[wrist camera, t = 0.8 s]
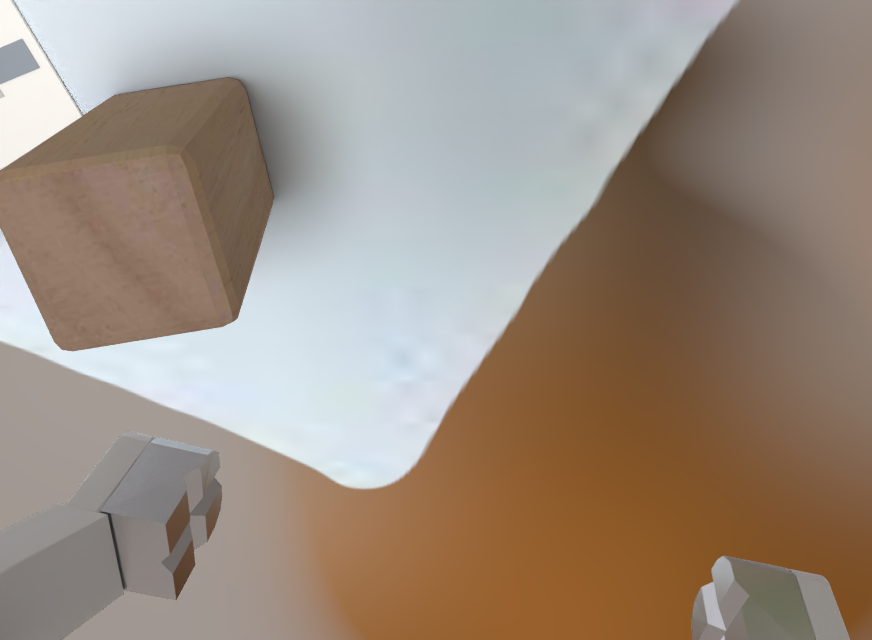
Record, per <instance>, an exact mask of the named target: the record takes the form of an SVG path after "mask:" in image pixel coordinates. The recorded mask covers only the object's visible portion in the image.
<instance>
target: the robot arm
mask: <svg viewBox="0 0 872 640" xmlns="http://www.w3.org/2000/svg"><path fill="white" fill-rule="evenodd" d="M219 468H220V461H219V453H218V452H216V451H214V450H210V449H206V448H202V447H197V446H193V445H189V444H185V443H181V442H176V441H172V440H168V439H163V438H159V437H154V436H149V435H145V434H140V433H136V432H131V431H127V432H125V433H123V434H122V435H120V436H119V437H118V438H117V439H116V440H115V442H114V443H113V444H112V445H111V447H110V448H109V449H108V451H107V452H106V453H105V454H104V456H103V457H102V458H101V459H100V461H99V462H98V463H97V465H96V466H95V467H94V469H93V470H92V471H91V472H90V474H89V475H88V476H87V477H86V479H85V480H84V481H83V482H82V484H81V485H80V486H79V488H78V489H77V490H76V492H75V493H74V494H73V495H72V497H71V498H70V499H69V500H68V502H67V503H66V504H65V505H63V504H57V503H56V504H53V505H51V506H49V507H47V508H45V509H43V510H41V511H39V512H37V513H35V514H33V515H31V516H30V517H27V518H25V519H23V520H22V521H19V522H17V523H15V524H13V525H11V526H9V527H7V528H5V529H3V530H1V531H0V640H62V639H64V638H65V637H66V636H68V635H69V634H70V633H71V632H73V631H74V630H76V629H77V628H78V627H80V626H81V625H82V624H84V623H85V622H86V621H88V620H89V619H90V618H92V617H93V616H94V615H96V614H97V613H98V612H100V611H101V610H103V609H104V608H105V607H107V606H108V605H109V604H111V603H112V602H113V601H114V600H116V599H117V598H119V597H120V596H121V595H123V594H124V590H126V591H131V592H136V593H141V594H146V595H151V596H157V597H162V598H167V599H173V600H177V598H178V596H179V594H180V592H181V591H182V589H183V587H184V585H185V583H186V581H187V579H188V577H189V575H190V574H191V572H192V570H193V568H194V566H195V557H194V550H195V549H196V548H198V547H200V546H201V545H203V544H205V543H206V542H208V540H209V538H210V536H211V534H212V531H213V530H214V528H215V525H216V522H217V518H218V515H219V512H220V509H221V501H222V486H221V484H220V483H219V482H218V481H217V480H216V479H215V475H216V473H217V471H218V470H219ZM711 571H712V576H713V581H714V582H712V583H710V584H707V585H705V586H703V587H701V589H700V591H699V593H698V595H697V597H696V599H695V602H694V607H693V613H692V636H693V640H850V638H849V635H848V633H847V630H846V627H845V625H844V622H843V620H842V617H841V614H840V611H839V609H838V606H837V603H836V601H835V598H834V595H833V593H832V590H831V587H830V585H829V582H828V581H827V580H826V579H825V578H824V577H823V576H820V575H816V574H811V573H806V572H801V571H796V570H792V569H786V568H784V567H778V566H773V565H768V564H763V563H758V562H753V561H748V560H743V559H737V558H733V557H728V556H722V557H721V558H719V559H717V561H716V563H715V564H714V566H713V568H712V569H711Z"/></svg>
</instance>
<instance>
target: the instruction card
mask: <svg viewBox="0 0 872 640" xmlns="http://www.w3.org/2000/svg"><path fill="white" fill-rule="evenodd" d="M82 116H83V115H82V113H81V112H80V110H79V108H78V107H77V105H76V103H75V102H74V100H73V98H72V97H71V95H70V94H69V92H68V90H67V89H66V87H65V85H64V84H63V82H62V80H61V79H60V77H59V76H58V74H57V72H56V71H55V69H54V67H53V66H52V64H51V62H50V61H49V59H48V57H47V56H46V54H45V53H44V51H43V49H42V48H41V46H40V44H39V43H38V41H37V39H36V38H35V36H34V34H33V33H32V31H31V30H30V28H29V26H28V25H27V23H26V21H25V20H24V18H23V16H22V15H21V13H20V12H19V10H18V8H17V7H16V5H15V3H14V2H13V0H0V169H1V168H4V167H6V166H7V165H9V164H10V163H12V162H14V161H15V160H17V159H18V158H20V157H21V156H23V155H24V154H26V153H27V152H29V151H30V150H32V149H33V148H35V147H36V146H38V145H39V144H41V143H42V142H44V141H45V140H47V139H48V138H50V137H51V136H53V135H54V134H56V133H58V132H59V131H61V130H62V129H64V128H65V127H67V126H68V125H70V124H71V123H73V122H74V121H76V120H77V119H79V118H80V117H82Z"/></svg>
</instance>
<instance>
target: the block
mask: <svg viewBox="0 0 872 640" xmlns="http://www.w3.org/2000/svg"><path fill="white" fill-rule="evenodd" d="M273 198H274V197H273V193H272V189H271V185H270V181H269V177H268V173H267V169H266V165H265V162H264V158H263V154H262V150H261V146H260V142H259V138H258V134H257V131H256V127H255V123H254V119H253V115H252V111H251V107H250V103H249V100H248V96H247V92H246V89H245V88H244V86H243V85H242V83H241V82H240V81H239V80H236V79H232V78H222V79H215V80H209V81H202V82H196V83H189V84H183V85H177V86H170V87H164V88H157V89H151V90H144V91H138V92H132V93H125V94H119V95H114V96H112V97H111V98H109V99H108V100H106V101H105V102H103V103H102V104H100V105H99V106H97V107H95V108H94V109H92V110H91V111H89V112H88V113H86V114H85V115H83V116H82V117H80V118H79V119H77V120H76V121H74V122H73V123H71V124H70V125H68V126H67V127H65V128H64V129H62V130H61V131H59V132H58V133H56V134H54V135H53V136H51V137H50V138H48V139H47V140H45V141H44V142H42V143H41V144H39V145H38V146H36V147H35V148H33V149H32V150H30V151H29V152H27V153H26V154H24V155H23V156H21V157H20V158H18V159H17V160H15V161H14V162H12V163H10V164H9V165H7V166H6V167H4V168H3V169H1V170H0V228H1V230H2V232H3V234H4V236H5V238H6V240H7V242H8V245H9V247H10V249H11V251H12V253H13V255H14V257H15V259H16V262H17V264H18V266H19V268H20V270H21V272H22V274H23V276H24V279H25V281H26V283H27V285H28V287H29V289H30V291H31V293H32V296H33V298H34V300H35V302H36V304H37V306H38V308H39V310H40V313H41V315H42V317H43V319H44V321H45V323H46V325H47V327H48V330H49V332H50V334H51V336H52V338H53V340H54V342H55V343H56V344H57V345H58V346H59V347H60V348H61V349H62V350H68V351H78V350H84V349H90V348H96V347H102V346H108V345H114V344H120V343H126V342H133V341H139V340H145V339H151V338H157V337H163V336H169V335H175V334H181V333H187V332H194V331H200V330H206V329H212V328H218V327H223V326H225V325H227V324H229V323H231V322H233V321H235V320H236V319H237V318H238V315H239V312H240V309H241V305H242V302H243V299H244V296H245V293H246V289H247V286H248V283H249V280H250V276H251V273H252V270H253V267H254V263H255V260H256V257H257V254H258V250H259V247H260V244H261V241H262V238H263V234H264V231H265V228H266V225H267V221H268V218H269V215H270V212H271V208H272V204H273Z"/></svg>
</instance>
